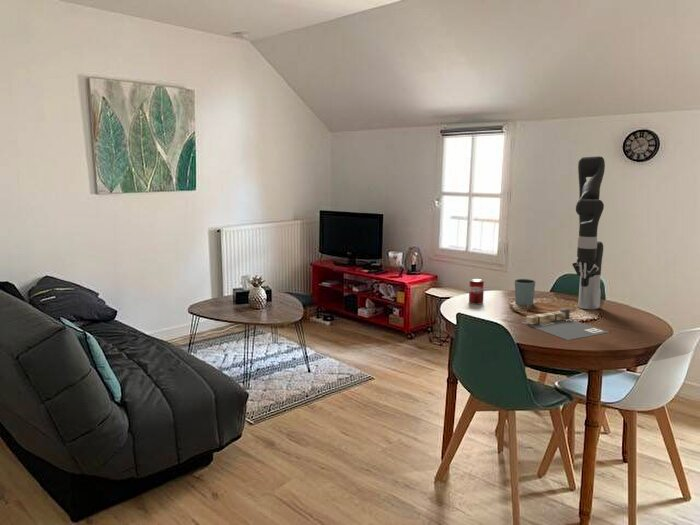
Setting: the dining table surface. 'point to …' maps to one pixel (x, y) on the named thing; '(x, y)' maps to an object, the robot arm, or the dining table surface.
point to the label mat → (567, 329)
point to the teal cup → (524, 291)
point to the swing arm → (548, 316)
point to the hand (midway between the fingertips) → (584, 286)
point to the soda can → (476, 291)
